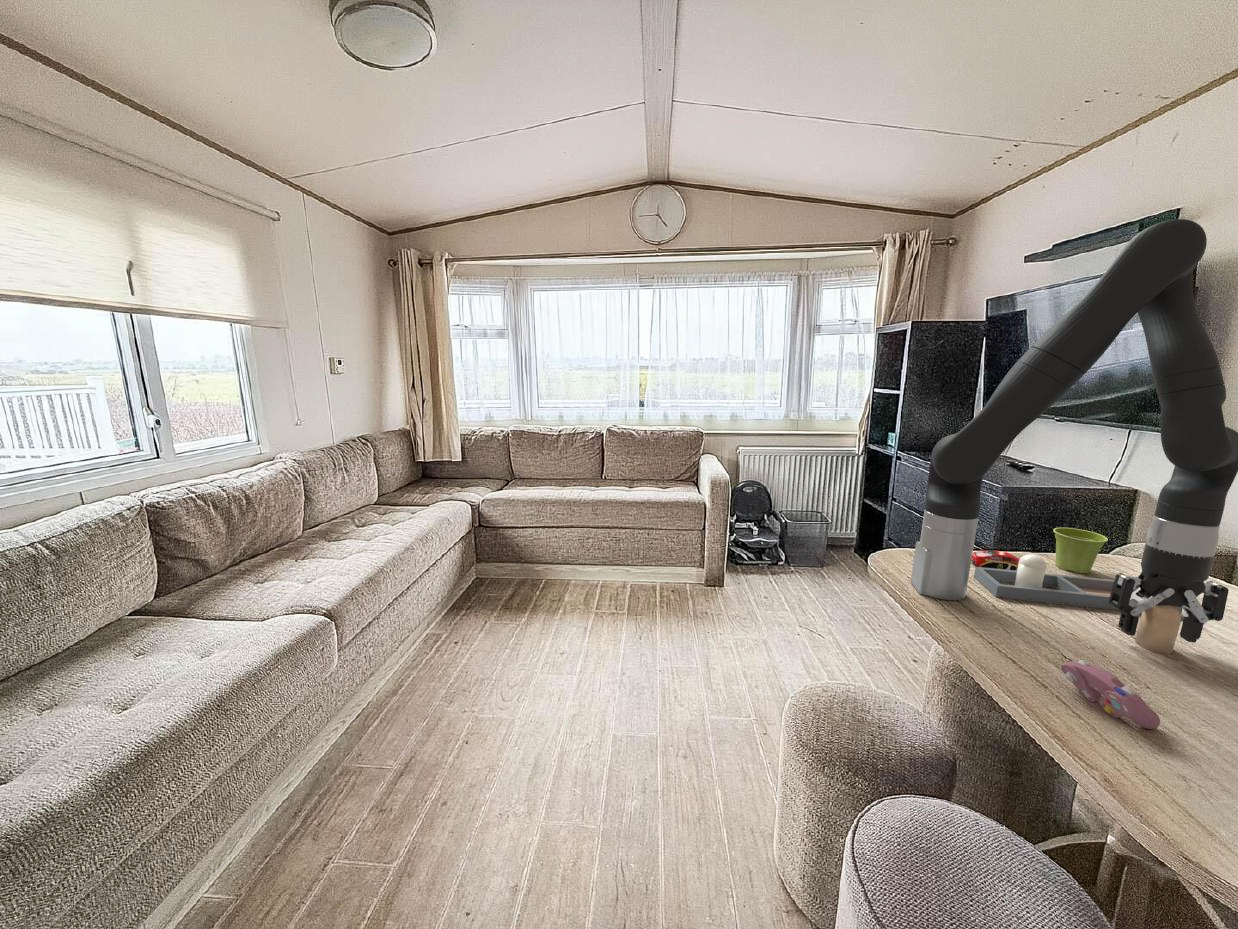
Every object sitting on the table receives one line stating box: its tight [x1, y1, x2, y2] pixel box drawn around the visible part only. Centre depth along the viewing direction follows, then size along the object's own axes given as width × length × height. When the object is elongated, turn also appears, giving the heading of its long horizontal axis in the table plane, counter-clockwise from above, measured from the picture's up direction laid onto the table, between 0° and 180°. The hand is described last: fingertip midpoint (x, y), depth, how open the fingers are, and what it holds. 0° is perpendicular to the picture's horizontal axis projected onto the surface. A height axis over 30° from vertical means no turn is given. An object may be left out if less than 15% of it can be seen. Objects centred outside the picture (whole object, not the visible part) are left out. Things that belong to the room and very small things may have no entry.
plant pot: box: [1052, 527, 1109, 574], centre depth 115 cm, size 9×9×9 cm
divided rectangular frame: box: [973, 566, 1184, 614], centre depth 102 cm, size 31×10×2 cm, turn 76°
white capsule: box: [1013, 553, 1047, 589], centre depth 103 cm, size 4×4×8 cm
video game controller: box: [1060, 659, 1161, 730], centre depth 68 cm, size 10×5×7 cm, turn 5°
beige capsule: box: [1134, 604, 1182, 655], centre depth 83 cm, size 4×4×8 cm
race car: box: [971, 550, 1021, 571], centre depth 116 cm, size 13×5×4 cm, turn 66°
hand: (1157, 636), depth 83 cm, fingers open, 8 cm apart
